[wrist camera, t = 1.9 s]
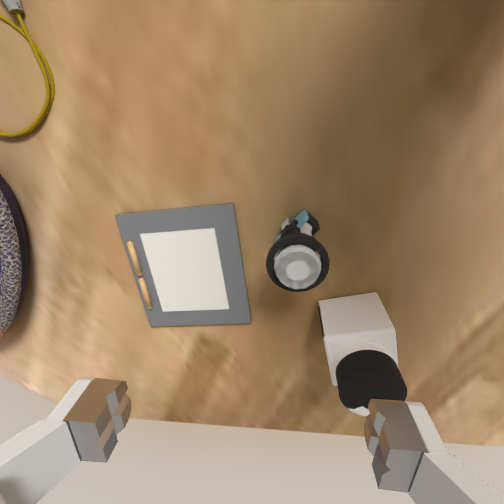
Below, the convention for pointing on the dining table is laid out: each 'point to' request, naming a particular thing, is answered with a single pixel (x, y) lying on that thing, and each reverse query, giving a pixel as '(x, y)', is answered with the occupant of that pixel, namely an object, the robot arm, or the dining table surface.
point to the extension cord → (15, 8)
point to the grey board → (187, 264)
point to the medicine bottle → (361, 350)
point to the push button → (298, 255)
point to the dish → (11, 257)
